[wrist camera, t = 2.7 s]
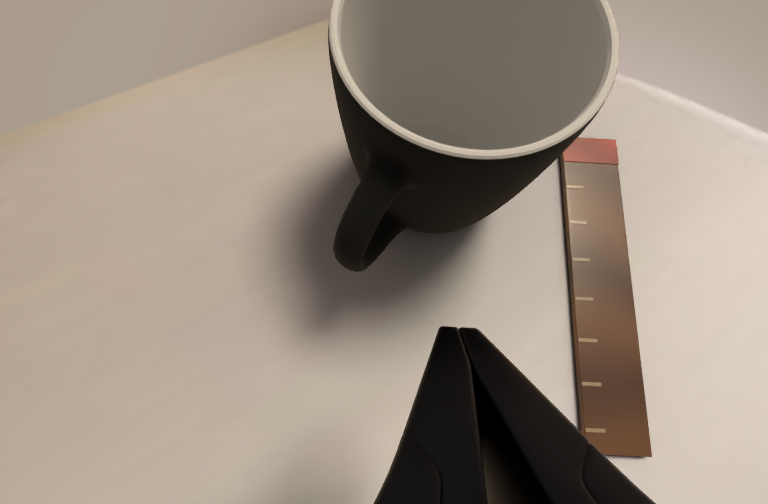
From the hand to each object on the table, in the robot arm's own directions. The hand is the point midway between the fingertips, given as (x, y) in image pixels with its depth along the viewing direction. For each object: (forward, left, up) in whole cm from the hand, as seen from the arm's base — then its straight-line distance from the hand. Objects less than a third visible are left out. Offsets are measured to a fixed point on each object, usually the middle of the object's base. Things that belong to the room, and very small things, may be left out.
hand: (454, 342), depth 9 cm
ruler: (+1, -10, -11) cm, 15 cm away
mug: (+8, -2, -11) cm, 14 cm away
